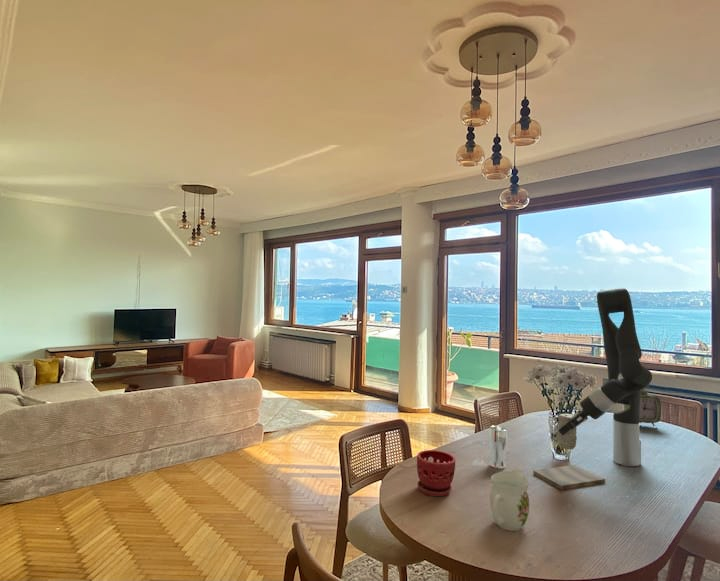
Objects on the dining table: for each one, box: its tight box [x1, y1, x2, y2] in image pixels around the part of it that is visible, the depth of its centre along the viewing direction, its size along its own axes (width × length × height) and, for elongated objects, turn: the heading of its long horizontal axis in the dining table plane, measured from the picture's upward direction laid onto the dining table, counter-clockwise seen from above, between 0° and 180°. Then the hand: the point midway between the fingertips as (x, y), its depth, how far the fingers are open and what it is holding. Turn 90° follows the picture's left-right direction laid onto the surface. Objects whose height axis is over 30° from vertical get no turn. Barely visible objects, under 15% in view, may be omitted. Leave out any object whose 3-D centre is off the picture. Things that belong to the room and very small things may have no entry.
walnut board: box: [532, 464, 606, 491], centre depth 160 cm, size 20×14×2 cm
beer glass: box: [488, 425, 508, 470], centre depth 171 cm, size 7×7×15 cm
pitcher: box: [489, 469, 530, 532], centre depth 125 cm, size 11×18×14 cm, turn 137°
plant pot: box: [416, 449, 456, 497], centre depth 148 cm, size 13×13×12 cm
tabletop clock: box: [624, 384, 662, 427], centre depth 230 cm, size 14×9×25 cm, turn 81°
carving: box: [556, 413, 578, 450], centre depth 158 cm, size 6×8×12 cm
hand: (562, 430), depth 159 cm, fingers closed on carving, 7 cm apart
